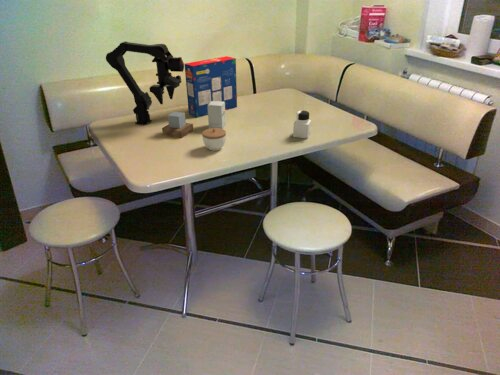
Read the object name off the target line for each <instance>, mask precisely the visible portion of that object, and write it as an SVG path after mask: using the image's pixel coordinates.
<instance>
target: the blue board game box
mask: <svg viewBox="0 0 500 375" xmlns="http://www.w3.org/2000/svg"><path fill="white" fill-rule="evenodd" d="M236 60H237V58H235V57H232V56H229V55H226V56H221V57H215V58H210V59H209V58H208V59H203V60H198V61H191V62H186V63H185V62H184V74H185V86H186V98H187V107H188V110H187V111H188V115H190V116H192V117H194V118H196V119H197V118H201V117H206V116H208V104H209V103H210V102H211V101H222V102H225V111H228V110H232V109H236V108H238V95H237V94H238V93H237V92H238V91H237V90H238V89H237V88H238V87H237V86H238V85H237V61H236Z"/></svg>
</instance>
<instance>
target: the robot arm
mask: <svg viewBox="0 0 500 375" xmlns="http://www.w3.org/2000/svg"><path fill="white" fill-rule="evenodd" d="M127 52H130V53H131V52H133V53H138V54H146V55H149V56H151V57H154V58H152V59H151V62H152V63H155V64H156V73H155V76H156V77H157V82H156V84H153V85H150V86H149V92H150V93H151V94H153V95H154V97H155V98H156V99H157V101H158V103H159V104H160V105H163V104H164V103H163V102H164V101H163V100H164V96H163V95H164V93H165V88H166V91H167V95H168V97H169V99H170V100H173V98H174V94H175V89H177V88H178V87H180V85H181V83H183V82H182V76H181V75H176V76H174V75H172V72H177V73H179V72H182V73H183V72H184V71H185V62H184V61H183V59H182V57H181V56H179V57H176V56H174V55H173V54H172V53H171V51H170V50H169V48H168V46H167V45H166V44H165V43H154V44H146V43H145V44H144V43H137V42H129V41H122V42H120V43H119V45H118V46H117V47H116V48H114V49H113V50H112V51H110V52H107V53H106V55H105V60H106V62H107V63H108V65H110V67H111V68H113V69H114V70H116V71H117V73H118V75H120V77H121V78H122V80H123V82H124V83H125V84H126V86H127V88H128V90H129V91H130V92H131V94H132V96H133V100H134V103H135V107H134V108H133V109H132V111H133V113H134V114H135V118H136V121H135V122H134V123H135V124H136V125H143V126H146V125H148V124H150V123H151V122H152V120H151V116H150V112H149V110H150V107H151V106H152V103H153V102H152V97H151V96H150V95H149V92H148V91H146V92H144V91H143V90H142V89H141V87H140V86H139V85H138V83H137V82H136V79H135V78H134V77H133V75H132V74H131V73H130V71H129V69H128V68H127V66H126V63H125V62H126V61H125V59H124V58H125V57H124V55H126V53H127Z"/></svg>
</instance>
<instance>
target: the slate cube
mask: <svg viewBox="0 0 500 375" xmlns="http://www.w3.org/2000/svg"><path fill="white" fill-rule="evenodd" d="M167 119H168V124H169V127H173V128H181V127H183V126H184V125H186V123H187V122H186V113H185V112H180V111H179V112H178V111H172V112H171V113H169V114H168V115H167Z"/></svg>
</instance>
